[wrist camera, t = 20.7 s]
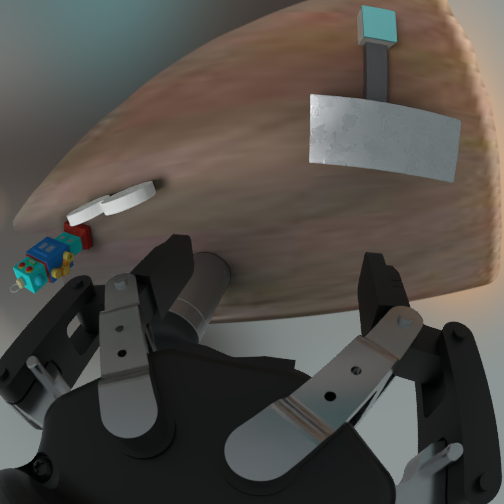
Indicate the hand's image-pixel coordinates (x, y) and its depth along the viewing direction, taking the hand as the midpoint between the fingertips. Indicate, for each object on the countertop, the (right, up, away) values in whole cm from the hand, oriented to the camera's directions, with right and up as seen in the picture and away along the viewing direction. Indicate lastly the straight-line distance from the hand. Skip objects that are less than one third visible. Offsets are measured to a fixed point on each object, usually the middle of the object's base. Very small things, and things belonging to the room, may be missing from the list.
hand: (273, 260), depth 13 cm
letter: (-27, +12, +40) cm, 50 cm away
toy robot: (-44, +5, +48) cm, 65 cm away
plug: (+17, +26, +20) cm, 37 cm away
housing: (+17, +19, +24) cm, 35 cm away
